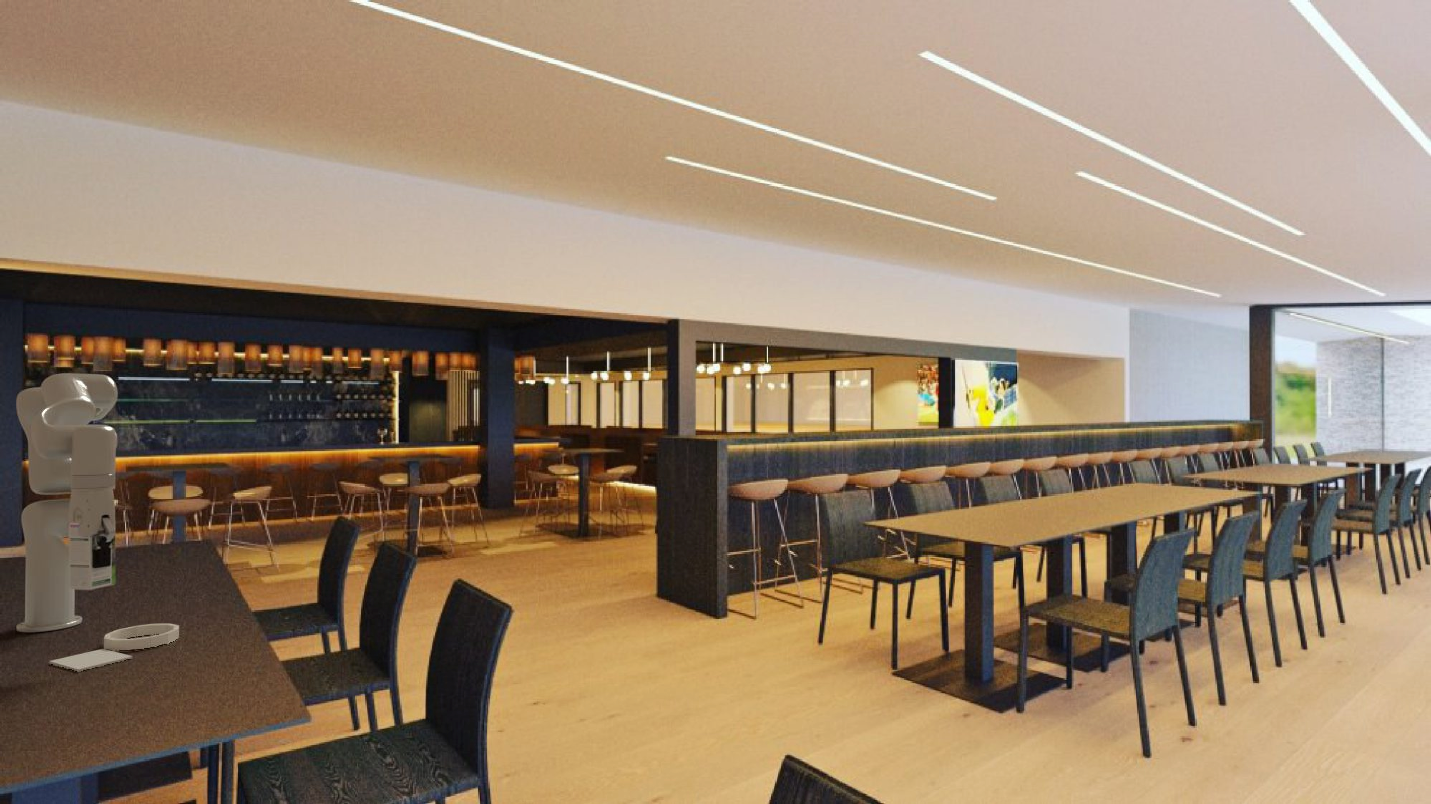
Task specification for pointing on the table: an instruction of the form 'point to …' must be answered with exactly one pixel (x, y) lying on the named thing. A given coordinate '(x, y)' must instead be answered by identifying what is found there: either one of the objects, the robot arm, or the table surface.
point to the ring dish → (120, 641)
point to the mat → (90, 660)
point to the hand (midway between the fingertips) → (92, 565)
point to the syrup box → (87, 562)
